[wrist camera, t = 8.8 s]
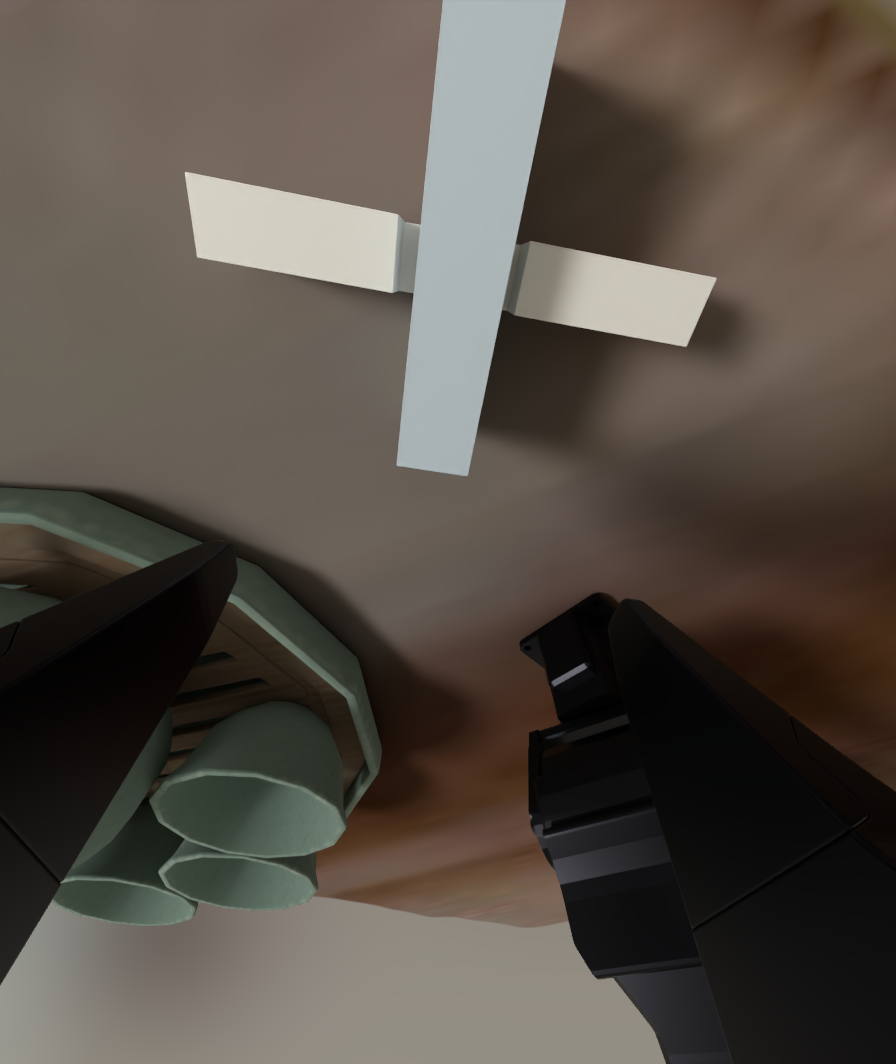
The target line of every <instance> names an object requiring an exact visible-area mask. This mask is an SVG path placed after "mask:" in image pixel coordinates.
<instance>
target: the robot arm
mask: <svg viewBox="0 0 896 1064" xmlns="http://www.w3.org/2000/svg"><path fill="white" fill-rule="evenodd" d="M237 577H238V568H237V560H236V553H235V547H234V545H233V543H232V542H230V541H223V540H217V539H212V540H209V541H207V542H204V543H202V544H199V545H197V546H195V547H192V548H190V549H187V550H185V551H183V552H180V553H178V554H176V555H173V556H171V557H168V558H166V559H164V560H161V561H159V562H156V563H154V564H152V565H149V566H147V567H144V568H142V569H140V570H137V571H135V572H133V573H130V574H128V575H125V576H123V577H121V578H118V579H116V580H113V581H111V582H109V583H106V584H104V585H101V586H99V587H97V588H94V589H92V590H89V591H87V592H85V593H82V594H80V595H78V596H75V597H73V598H70V599H68V600H66V601H63V602H61V603H58V604H56V605H54V606H51V607H49V608H46V609H44V610H42V611H39V612H37V613H34V614H32V615H30V616H27V617H25V618H23V619H22V620H21V622H19V621H15V622H13V623H10V624H8V625H6V626H3V627H1V628H0V985H1V983H2V982H3V980H4V978H5V977H6V975H7V973H8V972H9V970H10V968H11V967H12V965H13V964H14V962H15V960H16V959H17V957H18V955H19V954H20V952H21V950H22V949H23V947H24V945H25V944H26V942H27V940H28V939H29V937H30V935H31V934H32V932H33V931H34V928H35V927H36V926H37V924H38V922H39V921H40V919H41V917H42V916H43V914H44V912H45V911H46V909H47V908H48V906H49V904H50V903H51V901H52V899H53V898H54V896H55V894H56V893H57V891H58V889H59V888H60V886H61V884H60V882H62V881H63V880H64V879H65V877H66V876H67V874H68V872H69V871H70V869H71V867H72V866H73V864H74V862H75V861H76V859H77V857H78V856H79V854H80V853H81V851H82V849H83V848H84V846H85V844H86V843H87V841H88V839H89V838H90V836H91V834H92V833H93V831H94V829H95V828H96V826H97V825H98V823H99V821H100V820H101V818H102V816H103V815H104V813H105V811H106V810H107V808H108V806H109V805H110V803H111V801H112V800H113V798H114V797H115V795H116V793H117V792H118V790H119V788H120V787H121V785H122V783H123V782H124V780H125V778H126V777H127V775H128V773H129V772H130V770H131V769H132V767H133V765H134V764H135V762H136V760H137V759H138V757H139V755H140V754H141V752H142V750H143V749H144V747H145V745H146V744H147V742H148V740H149V739H150V737H151V736H152V734H153V732H154V731H155V729H156V727H157V726H158V724H159V722H160V721H161V719H162V717H163V716H164V714H165V712H166V711H167V709H168V708H169V706H170V704H171V703H172V701H173V699H174V698H175V696H176V694H177V693H178V691H179V689H180V688H181V686H182V684H183V683H184V681H185V680H186V678H187V676H188V675H189V673H190V671H191V670H192V668H193V666H194V665H195V663H196V661H197V660H198V658H199V656H200V655H201V653H202V652H203V650H204V648H205V646H206V645H207V643H208V641H209V639H210V637H211V635H212V633H213V631H214V629H215V627H216V625H217V622H218V620H219V618H220V616H221V614H222V612H223V609H224V607H225V605H226V603H227V601H228V598H229V596H230V594H231V592H232V590H233V587H234V585H235V583H236V581H237ZM596 601H598V602H596ZM594 602H596V603H594ZM519 644H520V650H521V651H522V652H523V653H524V654H526V655H527V656H528V657H530V658H531V659H533V660H534V661H535V662H537V663H538V664H539V665H541V666H542V667H543V668H545V671H546V675H547V679H548V683H549V686H550V688H551V692H552V696H553V700H554V704H555V709H556V713H557V717H558V719H559V720H560V724H559V725H556V726H553V727H550V728H547V729H544V730H541V731H539V730H535V731H533V732H530V733H529V748H528V773H529V815H530V818H531V822H530V823H531V828H532V831H533V833H534V834H535V835H536V836H537V837H538V840H539V843H540V845H541V848H542V850H543V852H544V854H545V856H546V859H547V860H548V862H549V863H550V865H551V866H552V867H553V868H554V870H555V871H556V873H557V877H558V880H559V883H560V887H561V890H562V894H563V898H564V902H565V907H566V911H567V915H568V920H569V924H570V928H571V933H572V937H573V941H574V944H575V946H576V948H577V950H578V951H579V953H580V954H581V956H582V958H583V959H584V961H585V963H586V964H587V966H588V967H589V969H590V971H591V972H592V974H593V975H594V976H595V977H596V978H597V979H606V978H614V979H615V981H616V982H617V983H618V985H619V986H620V987H621V988H622V990H623V991H624V992H625V994H626V995H627V996H628V997H629V999H630V1000H631V1001H632V1002H633V1004H634V1005H635V1006H636V1007H637V1009H638V1010H639V1011H640V1013H641V1014H642V1015H643V1017H644V1018H645V1019H646V1020H647V1022H648V1023H649V1024H650V1026H651V1027H652V1028H653V1030H654V1032H655V1034H656V1036H657V1039H658V1042H659V1045H660V1047H661V1050H662V1053H663V1056H664V1059H665V1061H666V1064H896V792H895V791H894V790H893V789H891V788H890V787H888V786H887V785H885V784H884V783H883V782H881V781H880V780H878V779H877V778H876V777H874V776H873V775H871V774H870V773H869V772H867V771H866V770H864V769H863V768H862V767H860V766H859V765H857V764H856V763H855V762H853V761H852V760H850V759H849V758H848V757H846V756H845V755H843V754H842V753H841V752H839V751H838V750H837V749H835V748H834V747H833V746H831V745H830V744H829V743H827V742H826V741H825V740H823V739H822V738H821V737H819V736H818V735H817V734H815V733H814V732H813V731H811V730H810V729H809V728H807V727H806V726H805V725H803V724H802V723H801V722H800V721H798V720H797V719H796V718H794V717H793V716H789V714H788V712H786V711H785V710H784V709H782V708H781V707H780V706H779V705H777V704H776V703H775V702H773V701H772V700H771V699H769V698H768V697H767V696H766V695H764V694H763V693H762V692H760V691H759V690H758V689H756V688H755V687H754V686H752V685H751V684H750V683H749V682H747V681H746V680H745V679H743V678H742V677H741V676H739V675H738V674H737V673H736V672H734V671H733V670H732V669H730V668H729V667H728V666H726V665H725V664H724V663H722V662H721V661H720V660H719V659H717V658H716V657H715V656H713V655H712V654H711V653H709V652H708V651H707V650H706V649H704V648H703V647H702V646H700V645H699V644H698V643H696V642H695V641H694V640H692V639H691V638H690V637H689V636H687V635H686V634H685V633H683V632H682V631H681V630H679V629H678V628H677V627H676V626H674V625H673V624H672V623H670V622H669V621H668V620H666V619H665V618H664V617H662V616H661V615H660V614H659V613H657V612H656V611H655V610H653V609H652V608H651V607H649V606H648V605H647V604H646V603H644V602H643V601H640V600H634V599H623V600H622V601H621V602H620V604H619V606H618V608H617V609H616V608H615V607H614V606H613V605H612V604H611V603H610V602H608V601H607V600H606V599H605V598H604V597H603V596H602V595H600V594H593V595H591V596H589V597H587V598H586V599H584V600H583V601H581V602H580V603H578V604H577V605H575V606H574V607H572V608H570V609H569V610H567V611H566V612H564V613H563V614H561V615H560V616H558V617H557V618H555V619H554V620H552V621H550V622H549V623H547V624H546V625H544V626H543V627H541V628H540V629H538V630H537V631H535V632H533V633H532V634H530V635H529V636H527V637H526V638H524V639H523V640H521V641H520V643H519Z"/></svg>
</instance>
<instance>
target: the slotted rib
mask: <svg viewBox="0 0 896 1064" xmlns="http://www.w3.org/2000/svg"><path fill="white" fill-rule="evenodd" d="M185 177H186V184H187V191H188V197H189V204H190V211H191V218H192V224H193V231H194V238H195V245H196V251H197V257H199V258H205V259H210V260H215V261H221V262H226V263H232V264H237V265H243V266H248V267H254V268H259V269H264V270H270V271H275V272H281V273H286V274H292V275H297V276H303V277H308V278H314V279H319V280H324V281H330V282H335V283H341V284H346V285H352V286H357V287H363V288H368V289H373V290H379V291H384V292H390V293H394V292H397V291H403V292H408V293H414V286H415V276H416V266H417V256H418V246H419V236H420V226H421V225H417V224H412V223H407V222H404V221H403V219H402V218H401V217H400V216H399V215H398V214H393V213H388V212H383V211H378V210H373V209H368V208H363V207H358V206H353V205H348V204H343V203H338V202H333V201H328V200H323V199H318V198H313V197H308V196H303V195H298V194H293V193H288V192H283V191H278V190H273V189H268V188H263V187H258V186H253V185H248V184H243V183H238V182H233V181H228V180H223V179H218V178H213V177H208V176H203V175H198V174H193V173H188V172H185ZM716 279H717V278H714V277H709V276H704V275H699V274H694V273H689V272H684V271H679V270H674V269H669V268H664V267H659V266H654V265H649V264H644V263H639V262H634V261H629V260H624V259H619V258H614V257H609V256H604V255H599V254H594V253H589V252H584V251H579V250H574V249H569V248H564V247H559V246H554V245H549V244H544V243H539V242H534V241H529V242H527V243H525V244H522V245H518V244H515V249H514V254H513V258H512V263H511V268H510V273H509V278H508V283H507V287H506V292H505V297H504V302H503V307H502V310H506V311H508V312H510V313H511V314H513V315H515V316H521V317H526V318H531V319H537V320H542V321H548V322H553V323H559V324H564V325H570V326H575V327H580V328H586V329H591V330H597V331H602V332H608V333H613V334H619V335H624V336H630V337H635V338H640V339H646V340H651V341H657V342H662V343H668V344H673V345H679V346H684V347H687V344H688V342H689V340H690V338H691V335H692V333H693V331H694V329H695V326H696V324H697V322H698V320H699V317H700V315H701V313H702V310H703V308H704V306H705V304H706V301H707V299H708V297H709V295H710V292H711V290H712V288H713V286H714V283H715V281H716Z"/></svg>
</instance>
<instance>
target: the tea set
mask: <svg viewBox="0 0 896 1064" xmlns="http://www.w3.org/2000/svg"><path fill="white" fill-rule="evenodd" d="M199 544H202V542H200V541H198V540H195V539H193V538H191V537H188V536H186V535H183V534H181V533H179V532H176V531H174V530H172V529H169V528H167V527H164V526H162V525H160V524H157V523H155V522H153V521H150V520H148V519H145V518H143V517H141V516H138V515H136V514H134V513H131V512H129V511H127V510H124V509H122V508H119V507H117V506H115V505H112V504H110V503H108V502H105V501H103V500H100V499H98V498H96V497H93V496H91V495H89V494H86V493H84V492H75V491H57V490H40V489H22V488H5V487H0V628H1V627H3V626H6V625H8V624H10V623H13V622H15V621H19V622H21V620H22V619H23V618H25V617H27V616H30V615H32V614H34V613H37V612H39V611H42V610H44V609H46V608H49V607H51V606H54V605H56V604H58V603H61V602H63V601H66V600H68V599H70V598H73V597H75V596H78V595H80V594H82V593H85V592H87V591H89V590H92V589H94V588H97V587H99V586H101V585H104V584H106V583H109V582H111V581H113V580H116V579H118V578H121V577H123V576H125V575H128V574H130V573H133V572H135V571H137V570H140V569H142V568H144V567H147V566H149V565H152V564H154V563H156V562H159V561H161V560H164V559H166V558H168V557H171V556H173V555H176V554H178V553H180V552H183V551H185V550H187V549H190V548H192V547H195V546H197V545H199ZM236 560H237V568H238V577H237V581H236V583H235V585H234V587H233V590H232V592H231V594H230V596H229V598H228V601H227V603H226V605H225V607H224V609H223V612H222V614H221V616H220V618H219V620H218V622H217V625H216V627H215V629H214V631H213V633H212V635H211V637H210V639H209V641H208V643H207V645H206V646H205V648H204V650H203V652H202V653H201V655H200V656H199V658H198V660H197V661H196V663H195V665H194V666H193V668H192V670H191V671H190V673H189V675H188V676H187V678H186V680H185V681H184V683H183V684H182V686H181V688H180V689H179V691H178V693H177V694H176V696H175V698H174V699H173V701H172V703H171V704H170V706H169V708H168V709H167V711H166V712H165V714H164V716H163V717H162V719H161V721H160V722H159V724H158V726H157V727H156V729H155V731H154V732H153V734H152V736H151V737H150V739H149V740H148V742H147V744H146V745H145V747H144V749H143V750H142V752H141V754H140V755H139V757H138V759H137V760H136V762H135V764H134V765H133V767H132V769H131V770H130V772H129V773H128V775H127V777H126V778H125V780H124V782H123V783H122V785H121V787H120V788H119V790H118V792H117V793H116V795H115V797H114V798H113V800H112V801H111V803H110V805H109V806H108V808H107V810H106V811H105V813H104V815H103V816H102V818H101V820H100V821H99V823H98V825H97V826H96V828H95V829H94V831H93V833H92V834H91V836H90V838H89V839H88V841H87V843H86V844H85V846H84V848H83V849H82V851H81V853H80V854H79V856H78V857H77V859H76V861H75V862H74V864H73V866H72V867H71V869H70V871H69V872H68V874H67V876H66V877H65V879H64V880H63V881H62V882H60V884H61V886H60V888H59V889H58V891H57V893H56V894H55V896H54V898H53V899H52V901H51V902H52V903H53V904H54V905H56V906H58V907H60V908H63V909H65V910H68V911H70V912H72V913H75V914H77V915H80V916H84V917H88V918H93V919H97V920H102V921H106V922H111V923H120V924H130V925H140V926H153V925H173V924H176V923H179V922H182V921H185V920H188V919H191V918H193V917H194V915H195V912H196V910H197V907H198V902H202V903H206V904H210V905H214V906H217V907H222V908H232V909H242V910H251V911H259V910H278V909H286V908H290V907H293V906H296V905H300V904H303V903H306V902H309V900H310V899H311V898H312V896H313V895H314V894H315V893H316V891H317V890H318V882H317V876H316V851H319V850H322V849H324V848H327V847H330V846H333V845H334V844H335V843H336V842H337V840H338V839H339V837H340V836H341V835H342V833H343V832H344V830H345V829H346V827H347V826H348V824H347V817H348V816H349V814H350V813H351V812H352V810H353V809H354V807H355V806H356V804H357V803H358V802H359V800H360V799H361V797H362V796H363V794H364V793H365V791H366V790H367V789H368V787H369V786H370V784H371V783H372V781H373V780H374V779H375V777H376V776H377V774H378V773H379V769H380V762H381V755H382V747H381V743H380V740H379V736H378V732H377V728H376V725H375V721H374V717H373V713H372V710H371V706H370V702H369V699H368V695H367V691H366V687H365V684H364V680H363V676H362V672H361V669H360V665H359V661H358V658H357V657H356V656H355V655H354V654H352V653H351V652H350V651H349V650H348V649H347V648H346V647H345V646H344V645H343V644H342V643H341V642H340V641H339V640H337V639H336V638H335V637H334V636H333V635H332V634H331V633H330V632H329V631H328V630H327V629H326V628H325V627H323V626H322V625H321V624H320V623H319V622H318V621H317V620H316V619H315V618H314V617H313V616H312V615H311V614H310V613H308V612H307V611H306V610H305V609H304V608H303V607H302V606H301V605H300V604H299V603H298V602H297V601H296V600H295V599H293V598H292V597H291V596H290V595H289V594H288V593H287V592H286V591H285V590H284V589H283V588H282V587H281V586H279V585H278V584H277V583H276V582H275V581H274V580H273V579H272V578H271V577H270V576H269V575H268V574H267V573H266V572H264V571H263V570H262V569H261V568H260V567H259V566H257V565H254V564H252V563H250V562H247V561H245V560H243V559H240V558H238V557H236Z"/></svg>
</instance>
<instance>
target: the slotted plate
mask: <svg viewBox="0 0 896 1064" xmlns="http://www.w3.org/2000/svg"><path fill="white" fill-rule="evenodd" d="M565 2H566V0H443V6H442V16H441V26H440V36H439V46H438V56H437V66H436V76H435V86H434V96H433V106H432V116H431V126H430V136H429V146H428V156H427V166H426V176H425V186H424V196H423V206H422V216H421V226H420V236H419V246H418V256H417V266H416V276H415V286H414V296H413V306H412V316H411V326H410V336H409V346H408V356H407V366H406V376H405V386H404V396H403V406H402V416H401V426H400V436H399V446H398V456H397V466H402V467H409V468H416V469H422V470H429V471H436V472H442V473H449V474H455V475H462V476H468V471H469V467H470V462H471V457H472V452H473V447H474V442H475V437H476V433H477V428H478V423H479V418H480V413H481V408H482V404H483V399H484V394H485V389H486V384H487V379H488V375H489V370H490V365H491V360H492V355H493V350H494V345H495V341H496V336H497V331H498V326H499V321H500V316H501V312H502V307H503V302H504V297H505V292H506V287H507V283H508V278H509V273H510V268H511V263H512V258H513V254H514V249H515V244H516V239H517V234H518V229H519V224H520V220H521V215H522V210H523V205H524V200H525V195H526V191H527V186H528V181H529V176H530V171H531V166H532V162H533V157H534V152H535V147H536V142H537V137H538V132H539V128H540V123H541V118H542V113H543V108H544V103H545V99H546V94H547V89H548V84H549V79H550V74H551V70H552V65H553V60H554V55H555V50H556V45H557V41H558V36H559V31H560V26H561V21H562V16H563V11H564V7H565Z"/></svg>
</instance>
